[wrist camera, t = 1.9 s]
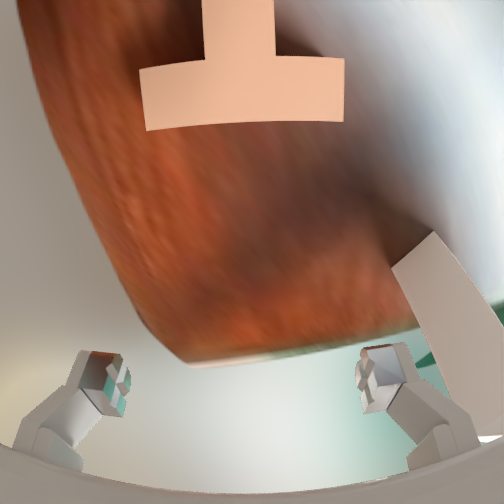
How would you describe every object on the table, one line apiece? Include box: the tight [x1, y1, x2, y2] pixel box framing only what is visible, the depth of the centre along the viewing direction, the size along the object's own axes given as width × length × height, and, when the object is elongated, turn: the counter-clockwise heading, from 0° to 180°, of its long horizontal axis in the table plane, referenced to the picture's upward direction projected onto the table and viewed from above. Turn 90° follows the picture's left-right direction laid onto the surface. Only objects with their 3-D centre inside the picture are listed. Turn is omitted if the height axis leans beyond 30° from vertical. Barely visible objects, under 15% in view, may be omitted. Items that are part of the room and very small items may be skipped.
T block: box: [139, 0, 344, 131], centre depth 16 cm, size 12×12×5 cm
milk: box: [391, 231, 504, 442], centre depth 21 cm, size 6×6×22 cm
